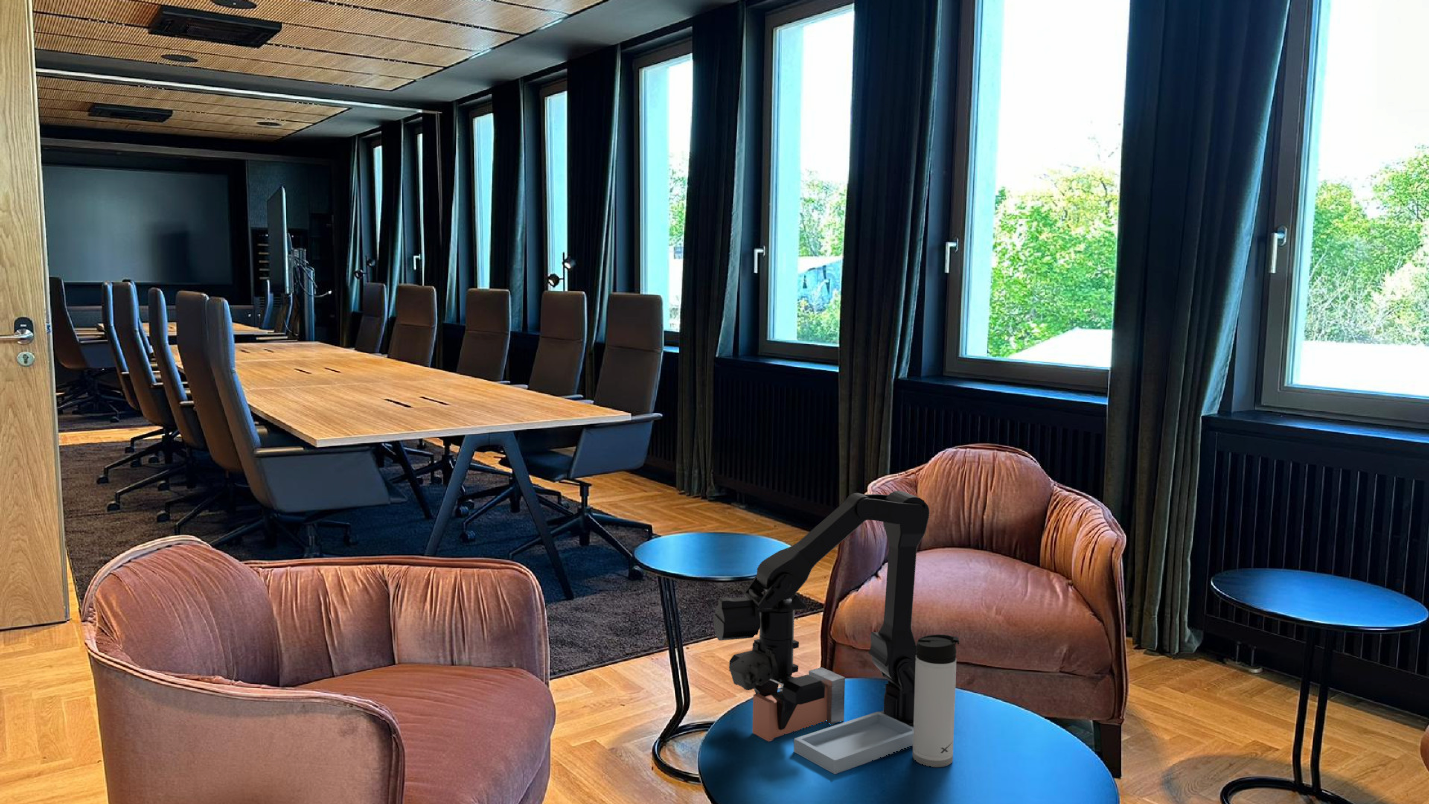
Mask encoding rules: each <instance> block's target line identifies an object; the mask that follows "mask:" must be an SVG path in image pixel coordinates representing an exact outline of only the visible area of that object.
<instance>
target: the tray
mask: <svg viewBox="0 0 1429 804" xmlns="http://www.w3.org/2000/svg"><path fill="white" fill-rule="evenodd" d="M913 728H914V726H912V725H911V726H909V725H907V724H905V723H903V722H900V721H898V720H896V719H894V718H892V717H889V716H887V715H885V714H883V713H881V711H875V712H872V713H869V714H867V715H863V716H860V717H857V718H853V719H851V720H847V721H843V722H840V723H837V724H834V725H831V726H830V727H829V726H828V727H826V728H823V729H820V730H817V731H814V732H810V733H808V734H804V735H801V736H798V737H794V738H793V752H794V753H795V754H798V755H799V756H801V757H802V758H805V759H807V760H808V761H810V762H812V763H813V764H815V765H818V766H819V767H821V768H823V769H824V770H826V771H828V772H830V773H832V774H834V775H836V774H838V773H839V774H840V773H842V772H845V771H848V770H851V769H854V768H856V767H858V766H862V765H865V764H867V763H871V762H873V761H875V760H879V759H881V758H883V757H887V756H889V755H888V754H890V755H892V754H894V753H893V752H895V753H897V752H896V751H898V752H900V750H901V749H903V750H905V749H904V748H906V749H908V748H907V747H909V746H912V747H913ZM909 748H910V747H909ZM901 751H902V750H901ZM886 755H887V756H886ZM880 757H881V758H880ZM872 760H873V761H872Z"/></svg>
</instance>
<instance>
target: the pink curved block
mask: <svg viewBox="0 0 1429 804" xmlns="http://www.w3.org/2000/svg"><path fill="white" fill-rule="evenodd" d="M824 684H825V683H824ZM827 692H828V685H827V684H825V698H822V699H819V700H815V701H812V702H808V703H805V704H801V705H799V704H798V705H797V706H796V708H795V710H794V712H793V714H792V716H791V718H790V720H789V722H788V723H787V725H786V727H785V729H783V730H779V728H778V718H777V701H776V700H775V699H774V698H773V697H772V695H769V696H766V697H764V696H762V695H760V694H756V693H755V694H753V696H752V697H753V698H752V734H754V735H756V736H758V737H759V738H761V739H763V740H764V741H767V742H771V741H774V739H775V738H778V737H781V736H784V734H785V735H787V734H790V733H794V732H797V731H801V730H803V729H802V728H804V729H807V728H809V726H810V727H812V726H811V725H813V726H816V724H817V725H819V724H818V723H820V722H823V723H825V722H824V721H826V720H827ZM826 722H827V721H826ZM820 724H821V723H820ZM806 727H807V728H806ZM800 729H801V730H800ZM793 731H794V732H793Z"/></svg>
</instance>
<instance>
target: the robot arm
mask: <svg viewBox="0 0 1429 804" xmlns="http://www.w3.org/2000/svg"><path fill="white" fill-rule="evenodd" d="M929 518H930V507H929V505H928V504H927V502H926V501H925V500H924V499H922V498H921V497H919V496H917V495H914V494H911V493H909V492H906V491H903V490H895V491H892V492H891V493H889V494H881V493H880V494H879V493H869V494H868V493H867V494H863V493H859V492H854V493H852V494H850V495H848V497H846V499H845V501H844V502H843V503H841V504H840V505H839V506H837V508H836V509H834V510H833V511H832V512H831V513H830V514H829V515H827V516H826V518H824V519H823V520H822V521H821V522H820V523H818V524H817V525H816V526H815V527H814V528H813V529H811V530H810V531H809V532H808V533H807V534H806V535H804V536H803V537H802V538H801V539H800V540H799V541H797V542H796V543H795V544H793V545H791V546H789V547H787V548H784V549H781V550H779V551H776V552H774V553H773V554H772V555H769V556H768V557H766V558H765V559H763V560H762V561H761V562H760V563H759V565H758V566H757V567H756V575H755V577H754V578H753V580H752V581H751V582H750V583H749V585H748V587H747V588H746V589H745V591H744V592H743V596H744V597H743V596H742V597H727V596H726V597H719V598H718V605H716V607H715V610H714V613H713V628H714V634H715V637H716V638H717V640H718V641H719V642H720V641H732V640H743V639H752V638H755V636H757V635H758V634H759V635H758V637H759V638H757V639H753V642H752V649H751V650H748V651H745V652H740V653H736V654H733V655H732V657H731V658H730V659H729V662H728V663H729V666H728V668H729V669H728V671H729V672H730V675H731V678H732V681H733V684H734V685H736V686H739V687H741V688H743V689H744V690H746V691H752V690H753V691H754V693H755V694H760V695H762V696H764V697H766V696H769V695H772V697H773V698H774V699H775V700H776V701H777V718H778V728H779V730H783V729H785V727H786V725H787V723H788V722H789V720H790V718H791V716H792V714H793V712H794V710H795V708H796V706H797V705H798V704H799V705H801V704H805V703H808V702H812V701H815V700H819V699H822V698H825V684H824V683H823V682H822V681H820V680H818V679H816V678H814V677H812V676H810V675H809V674H804V675H800V676H797V677H796V676H795V677H794V676H793V674H794V673H797V672H799V665H797V664H796V663H794V650H796V649H798V648H799V647H800V642H799V641H797V640H796V639H795V638H794V637H795V636H794V635H795V634H794V633H795V611H797V610H798V611H799V610H806V609H807V608H808V605H807V604H806V603H804V602H803V601H802V600H801V599H800V597H799V595H798V594H797V593H798V591H799V590H800V589H801V588H802V587H803V585H804V584H805V583H806V582H807V580H808V578H809V577H810V575H811V572H812V570H813V568H814V567H815V566H816V564H818V563H819V562H820V561H822V560H823V559H824V558H825V556H827V555H828V554H829V553H831V551H833V550H834V549H835V548H836V547H837V546H839V544H840V543H842V542H844V540H845V539H846V538H848V537H849V536H850V535H851V534H852V533H853V532H855V530H858V528H859V527H860V526H861V525H862V524H864V523H865V522H866V521H876V522H882V525H883V528H884V532H885V535H886V539H887V541H888V553H887V554H888V555H887V556H888V557H887V566H886V567H887V568H886V569H887V570H886V583H885V584H886V585H885V597H884V611H883V612H884V614H883V624H882V625H881V627H880V629H879V631H877V632H875V631H871V632H870V646H869V651H868V655H869V656H871V661H872V663H873V664H874V665H875V668H877V669H879V671H880V674H881V676H882V677H883V678H884V679H886V680H887V683H885V693H884V695H883V710H882V711H880V712H881V713H883V714H885V715H887V716H889V717H892V718H894V719H896V720H898V721H900V722H903V723H905V724H907V725H909V726H911V727H912V726H914V696H915V664H916V652H917V650H916V645H917V641H916V639H915V637H914V633H913V631H912V630H913V629H912V624H913V623H912V620H913V608H914V607H913V606H914V596H915V595H914V594H915V593H914V591H915V579H916V565H917V553H918V547H919V545H920V543H921V541H922V540H923V538H924V536H925V535H926V531H927V527H928V523H929ZM764 591H765V592H766V593H765V594H763V592H764ZM779 685H780V688H779ZM778 690H779V691H778Z"/></svg>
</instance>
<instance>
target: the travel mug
mask: <svg viewBox="0 0 1429 804" xmlns="http://www.w3.org/2000/svg"><path fill="white" fill-rule="evenodd" d="M959 644H960V639H959V637H958V636H952V635H949V634H940V633H939V634H928V635H924V636H921V637H919V638H918V640H917V641H916V650H917V652H916V664H915V696H914V725H913V727H914V728H913V746H912V758H913V760H914V761H915V760H916V761H915V762H916V763H919V764H921V765H922V764H923V766H925V765H926V767H929V766H931V767H930V768H944V767H947V766H949V765H950V764H952V762H954V761H953V760H954V735H955V733H954V732H955V706H956V705H955V704H956V685H957V684H956V681H957V679H956V676H957V673H956V672H957V647H956V645H959Z"/></svg>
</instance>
